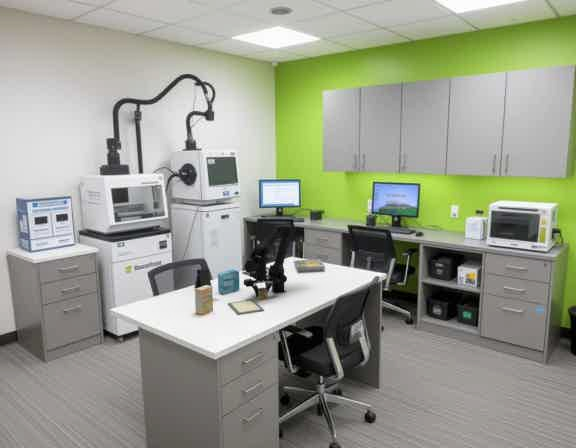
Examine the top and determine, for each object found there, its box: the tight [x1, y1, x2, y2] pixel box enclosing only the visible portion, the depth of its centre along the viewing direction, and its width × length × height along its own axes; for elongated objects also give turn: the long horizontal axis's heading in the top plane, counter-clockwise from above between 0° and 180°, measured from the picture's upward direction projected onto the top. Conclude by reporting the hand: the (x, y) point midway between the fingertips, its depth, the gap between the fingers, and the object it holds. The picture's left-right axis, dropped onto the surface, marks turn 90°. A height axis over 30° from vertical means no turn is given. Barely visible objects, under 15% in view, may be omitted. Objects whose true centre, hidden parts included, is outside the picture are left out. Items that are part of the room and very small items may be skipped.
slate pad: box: [227, 299, 265, 316], centre depth 236 cm, size 14×18×1 cm
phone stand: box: [194, 267, 212, 289], centre depth 270 cm, size 9×6×12 cm, turn 49°
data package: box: [217, 269, 240, 295], centre depth 263 cm, size 12×4×12 cm, turn 133°
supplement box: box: [194, 285, 214, 316], centre depth 229 cm, size 8×5×13 cm, turn 148°
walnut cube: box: [255, 287, 268, 301], centre depth 251 cm, size 5×5×5 cm
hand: (261, 296), depth 251 cm, fingers closed on walnut cube, 5 cm apart
